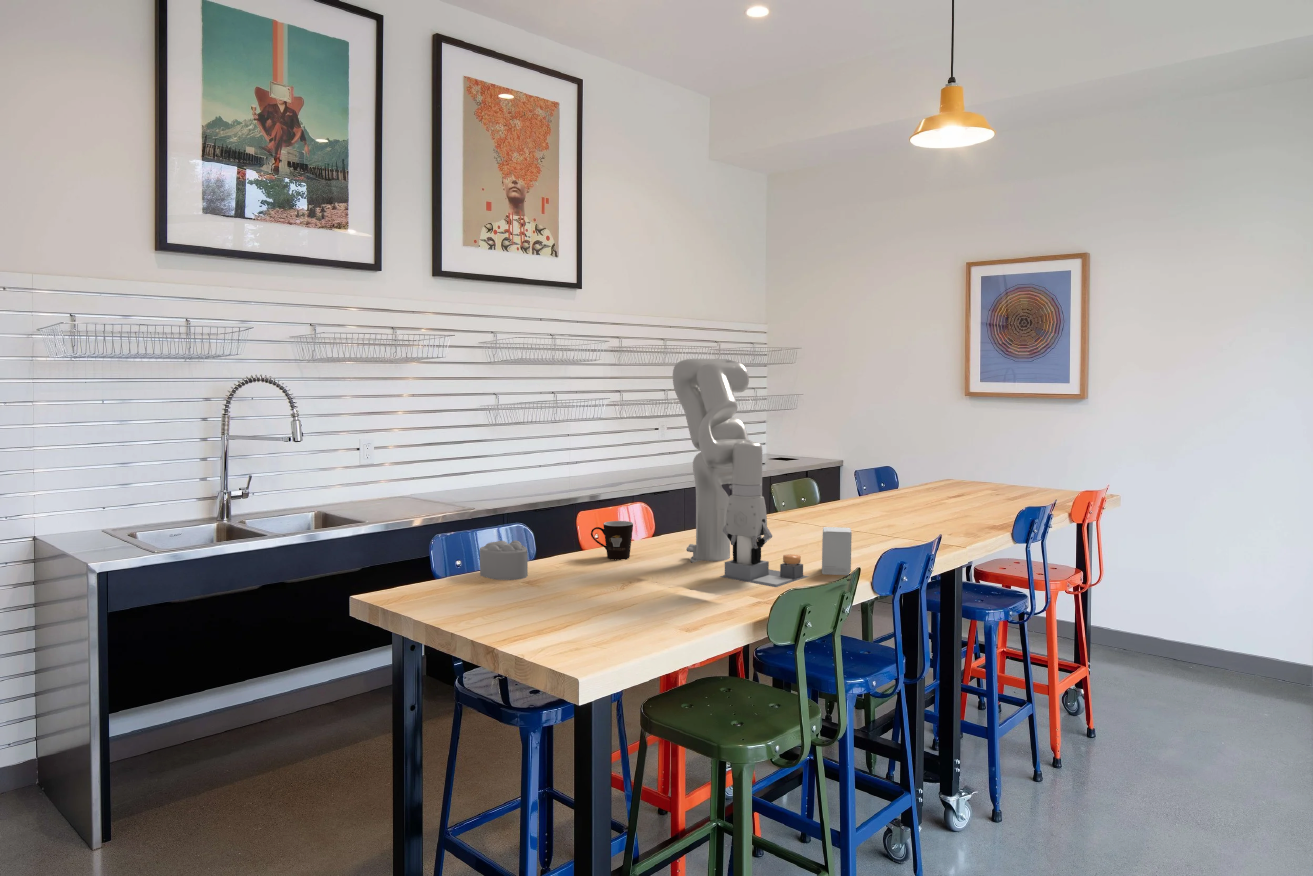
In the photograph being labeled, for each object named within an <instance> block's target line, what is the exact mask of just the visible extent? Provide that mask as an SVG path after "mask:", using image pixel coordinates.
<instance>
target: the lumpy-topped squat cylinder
mask: <svg viewBox="0 0 1313 876" xmlns="http://www.w3.org/2000/svg"><path fill="white" fill-rule="evenodd" d="M528 564H529V563H528V548H527V547H526V546H524V545H522V543H521V542H520V541H519V540H515V539H514V540H512V541H511V542H510V543H509V542H507V541H505V540H497V541H491V542H488V543H486V544H485V545H483V546H481V547H480V548H479V572H480V573H479V575H480V577H484V578H487V579H490V580H498V581H501V580H502V581H512V580H513V581H514V580H515V581H517V580H522V579H523V580H524V579H526V578H527V577H528V574H529V573H528Z"/></svg>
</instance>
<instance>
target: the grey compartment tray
mask: <svg viewBox="0 0 1313 876" xmlns="http://www.w3.org/2000/svg"><path fill="white" fill-rule="evenodd" d="M769 563H770V562H769V561H766V560H762V559H761V561H760V563H757V564H754V565H751V566H749V565H743V564H737V561H733V559H731V560H728V561H727V560H726V561H725V562H724V574H723V575H720V576H719V577H720V578H724V579H731V580H735V581H739V582H746V583H752V584H757V585H762V586H767V587H772V588H779V587H782V586H783V585H788V584H790V583H793V582H796V581H799V580H800V581H801V580H802V579H805V578H808V577H809V576H808V575H804V564H803V563H798V564H797V565H796V566H789V565H787V563H784V562H782V563H780V565H779V569H780V570H774V569H770V567H769V565H770V564H769Z"/></svg>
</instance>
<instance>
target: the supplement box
mask: <svg viewBox="0 0 1313 876" xmlns="http://www.w3.org/2000/svg"><path fill="white" fill-rule="evenodd" d="M852 534H853V533H852V529H851V527H836V526H834V527H833V526H831V527H830V526H824V527H822V545H821V546H822V547H821V549H822V550H821V573H822V575H831V576H832V575H835V576H836V575H837V576H850V575H849V573H850V572H851V573H852V539H853V538H852Z"/></svg>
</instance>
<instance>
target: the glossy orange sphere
mask: <svg viewBox="0 0 1313 876" xmlns="http://www.w3.org/2000/svg"><path fill="white" fill-rule="evenodd" d="M782 563H787V565H789V566H796V565H797V564H798V563H800V564H802V562H801V555H799V554H795V553H794V554H791V553H789V554H783V556H782Z"/></svg>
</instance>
